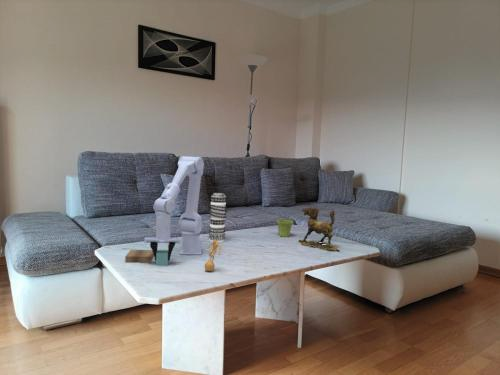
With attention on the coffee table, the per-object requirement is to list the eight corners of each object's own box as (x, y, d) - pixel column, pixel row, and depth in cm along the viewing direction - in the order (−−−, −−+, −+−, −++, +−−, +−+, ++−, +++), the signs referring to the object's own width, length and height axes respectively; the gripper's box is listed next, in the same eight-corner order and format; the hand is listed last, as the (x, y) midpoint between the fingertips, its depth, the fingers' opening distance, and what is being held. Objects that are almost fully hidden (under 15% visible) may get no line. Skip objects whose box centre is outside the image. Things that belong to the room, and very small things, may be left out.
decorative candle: (204, 239, 191) (206, 192, 188) (217, 237, 198) (218, 192, 195) (216, 243, 185) (218, 194, 182) (229, 240, 192) (231, 193, 189)
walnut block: (154, 256, 158) (154, 250, 158) (150, 263, 149) (150, 256, 148) (130, 256, 157) (130, 249, 157) (125, 263, 147) (125, 256, 147)
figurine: (308, 239, 202) (310, 203, 201) (346, 249, 184) (349, 210, 182) (292, 242, 194) (295, 205, 192) (331, 253, 175) (333, 212, 173)
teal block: (168, 261, 151) (169, 250, 150) (167, 265, 146) (167, 253, 146) (157, 261, 150) (157, 250, 150) (156, 265, 146) (156, 253, 145)
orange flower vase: (198, 269, 143) (199, 239, 142) (210, 266, 147) (211, 237, 146) (212, 274, 137) (213, 244, 136) (224, 271, 142) (225, 241, 140)
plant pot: (294, 237, 205) (295, 222, 204) (278, 237, 203) (279, 222, 202) (289, 234, 214) (290, 219, 213) (273, 234, 212) (274, 219, 211)
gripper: (143, 229, 142) (142, 262, 143) (180, 230, 143) (179, 263, 145) (146, 225, 149) (145, 257, 150) (182, 226, 150) (181, 258, 152)
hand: (162, 260), depth 148 cm, fingers closed on teal block, 4 cm apart
